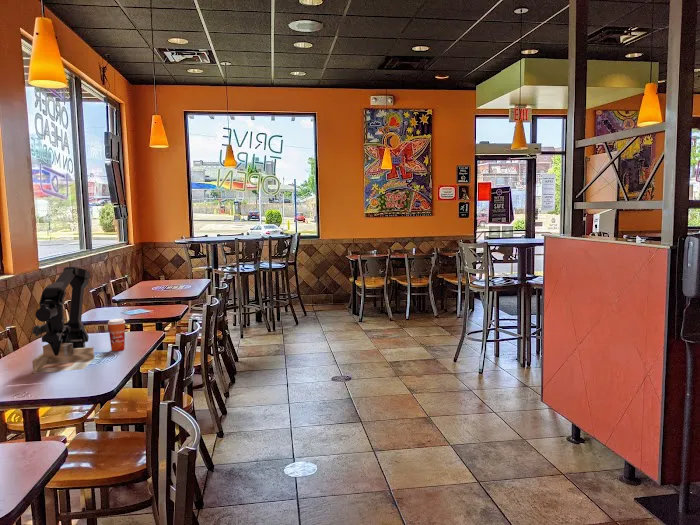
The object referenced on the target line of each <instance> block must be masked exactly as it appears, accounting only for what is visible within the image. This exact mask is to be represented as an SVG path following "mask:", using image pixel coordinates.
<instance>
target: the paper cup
mask: <svg viewBox="0 0 700 525" xmlns="http://www.w3.org/2000/svg"><path fill="white" fill-rule="evenodd" d="M107 325H108V334H109V342H110V347H111V348H110V350H111V351H112V352H121V351H124V350H125V349H126V348H125V345H126V344H125V341H126V340H125V338H126V336H125V335H126V334H125V332H126V331H125V330H126V329H125V328H126V326H125V325H126V321H125V319H124V318H112V319H109V320H108V322H107Z"/></svg>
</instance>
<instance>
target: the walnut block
mask: <svg viewBox="0 0 700 525" xmlns="http://www.w3.org/2000/svg"><path fill="white" fill-rule="evenodd" d="M42 353H43V356H44V357H64V356H65V357H68V356H70V355H72V354H73V343H61V347H60V350H59V353H58V355H57V356H55V355H54V352H53V350H52V348H51V345H50V344H49V343H47V344H45V345H42Z"/></svg>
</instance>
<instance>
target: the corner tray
mask: <svg viewBox="0 0 700 525" xmlns="http://www.w3.org/2000/svg"><path fill="white" fill-rule="evenodd" d="M94 348H95V347H94V346H90V347H85V348H74V349H73V354H72V355H70V356H68V357H65V356H64V357H44V356H43V352H42V353H40V355H38V356H37V357H36V358H34V359H33V360H32V362H31V363H32V373H33V374H36V373H37V374H39V373H40V374H41V373H52V372H62V371H63V372H64V371H77V370H85V369H86V368H87V367H88V366H89V365H90V364H91V362H92V361H93V360H94V359H95V353H94V352H95V350H94Z"/></svg>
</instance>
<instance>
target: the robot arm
mask: <svg viewBox="0 0 700 525" xmlns="http://www.w3.org/2000/svg"><path fill="white" fill-rule="evenodd" d="M90 277H91V274H90V271H88V270H87V268H86V269H85V268H79V267H78V266H65V267H64V268H63V271H62V272H61V274H60V275H59V276H58V278H56V280H55V281H54V282H53V283H50V284H48V285H47V286H45V287H44V289H42V293H41V297H40V301H39V306H40V307H39V308H37V310H36V312H35V318H36V319H37V320H38V321H39V322H42V323H43V324H42V325H39V324H38V325H35V326H33V327H32V332H31V333H32V334H33V335H34V336H35V337H38V336H40V335H42V336H41V343H47V344H50V345H51V348H52V350H53V352H54V355H55V356H57V355H58V353H59V350H60V347H61V343H73V349H74V348H86V343H87V342H89V337H90V336H89V334H88V333H87V331H86V330H85V329H86V328H85V325H84V323H83V321H82V317H83V316H82V314H83V304H84V293H85V291H84V290H85V288H86V287H87V286H88V285H89V281H90ZM69 285H70V287H71V296H70V297H71V298H70V308H69V319H68V321H67V322H65V321H66V317H65V316H64V304H65V301H64V300H65V297H66V295H67V292H66V289H67V288H68V287H69ZM44 322H45V323H44Z"/></svg>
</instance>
